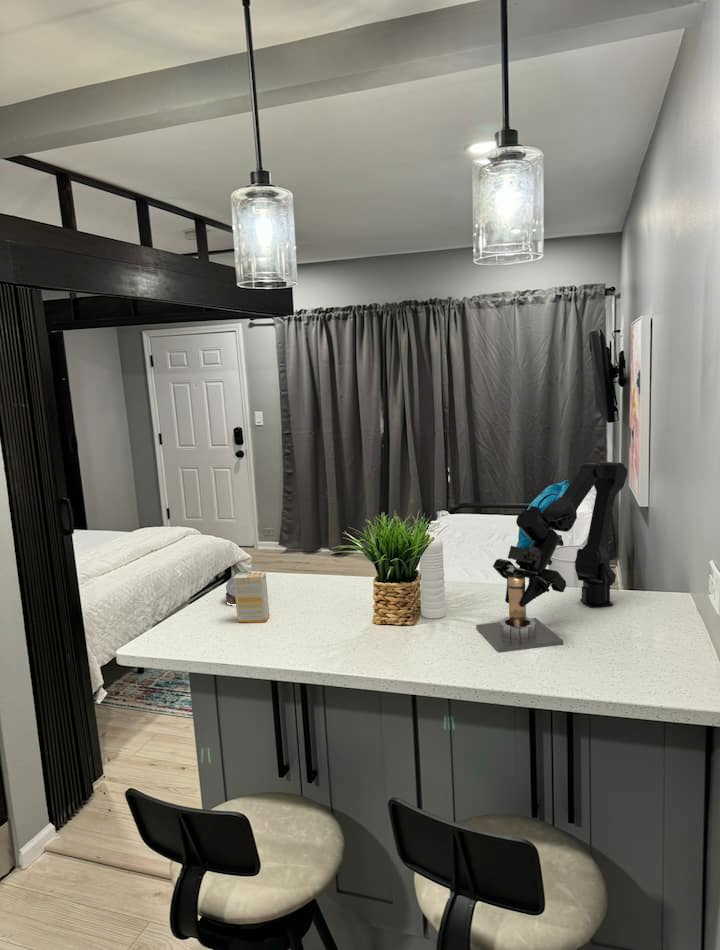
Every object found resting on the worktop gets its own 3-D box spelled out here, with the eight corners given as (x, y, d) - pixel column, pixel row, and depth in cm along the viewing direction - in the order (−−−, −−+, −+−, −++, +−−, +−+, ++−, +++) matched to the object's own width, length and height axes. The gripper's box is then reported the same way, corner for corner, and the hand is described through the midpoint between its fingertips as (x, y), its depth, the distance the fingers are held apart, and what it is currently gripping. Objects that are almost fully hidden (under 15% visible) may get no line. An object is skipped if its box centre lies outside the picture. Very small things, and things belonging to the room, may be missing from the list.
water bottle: (441, 620, 185) (437, 528, 182) (418, 617, 188) (413, 527, 185) (451, 609, 193) (448, 521, 190) (429, 607, 196) (425, 520, 193)
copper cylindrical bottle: (527, 626, 172) (526, 575, 171) (525, 632, 169) (523, 580, 167) (510, 625, 174) (509, 574, 172) (508, 631, 170) (506, 579, 168)
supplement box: (270, 616, 196) (266, 571, 194) (266, 622, 191) (262, 576, 190) (241, 617, 197) (237, 572, 195) (236, 623, 192) (232, 577, 190)
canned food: (260, 612, 214) (272, 586, 211) (238, 620, 206) (250, 592, 203) (235, 592, 219) (246, 565, 216) (213, 598, 211) (224, 570, 208)
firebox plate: (535, 621, 180) (535, 608, 180) (563, 644, 165) (562, 630, 164) (476, 628, 178) (475, 615, 178) (498, 652, 162) (497, 637, 162)
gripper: (496, 527, 178) (468, 579, 173) (557, 538, 163) (528, 595, 158) (517, 551, 184) (490, 602, 178) (578, 563, 169) (551, 619, 164)
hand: (513, 604), depth 169 cm, fingers closed on copper cylindrical bottle, 4 cm apart
